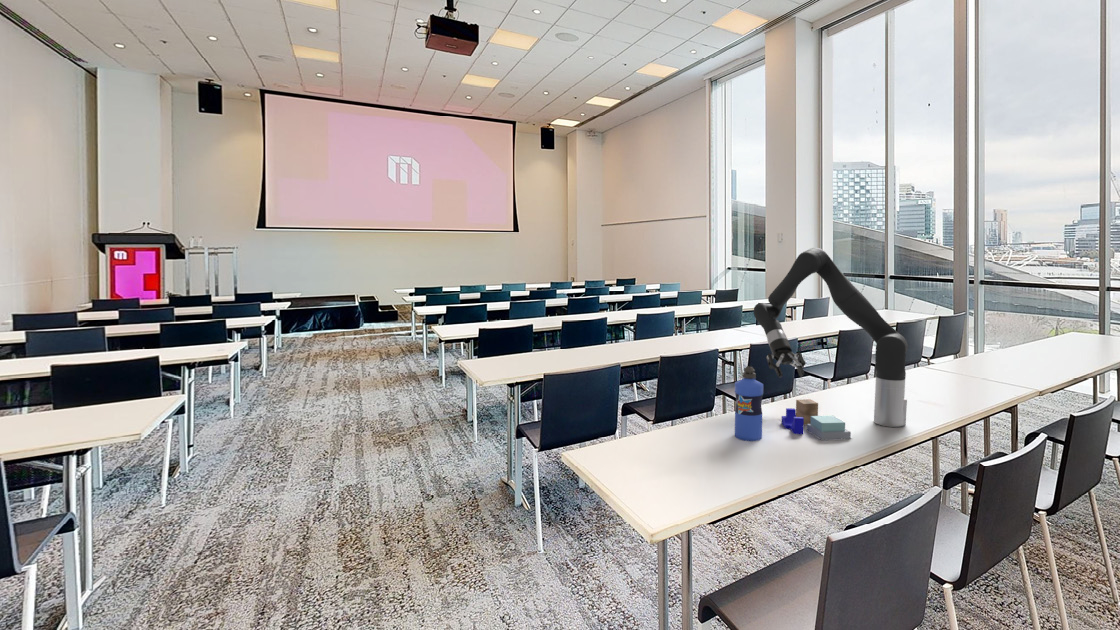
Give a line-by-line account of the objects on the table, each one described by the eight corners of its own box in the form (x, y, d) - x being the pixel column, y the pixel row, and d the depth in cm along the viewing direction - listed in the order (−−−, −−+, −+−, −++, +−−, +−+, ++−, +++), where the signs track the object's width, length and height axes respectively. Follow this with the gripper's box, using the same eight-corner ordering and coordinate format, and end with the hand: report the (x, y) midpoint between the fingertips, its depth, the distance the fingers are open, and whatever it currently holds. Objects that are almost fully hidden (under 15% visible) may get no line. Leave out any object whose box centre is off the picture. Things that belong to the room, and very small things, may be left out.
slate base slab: (833, 430, 191) (833, 422, 191) (850, 440, 181) (850, 431, 181) (806, 432, 191) (807, 423, 190) (822, 441, 181) (822, 433, 180)
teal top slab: (832, 423, 190) (832, 415, 190) (844, 430, 182) (845, 422, 182) (810, 424, 190) (810, 416, 190) (821, 431, 182) (822, 423, 182)
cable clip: (781, 423, 199) (781, 408, 199) (794, 424, 199) (794, 408, 198) (789, 434, 188) (790, 418, 187) (803, 434, 187) (803, 418, 186)
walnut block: (809, 419, 203) (810, 399, 202) (817, 424, 197) (818, 403, 196) (795, 420, 202) (796, 399, 202) (803, 424, 197) (803, 403, 196)
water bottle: (741, 430, 192) (742, 362, 190) (766, 436, 186) (768, 366, 183) (729, 437, 186) (730, 367, 183) (754, 443, 179) (756, 370, 176)
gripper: (764, 338, 216) (777, 371, 206) (798, 336, 217) (812, 370, 207) (758, 348, 222) (770, 381, 212) (791, 347, 223) (805, 380, 213)
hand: (791, 376), depth 210 cm, fingers open, 8 cm apart
